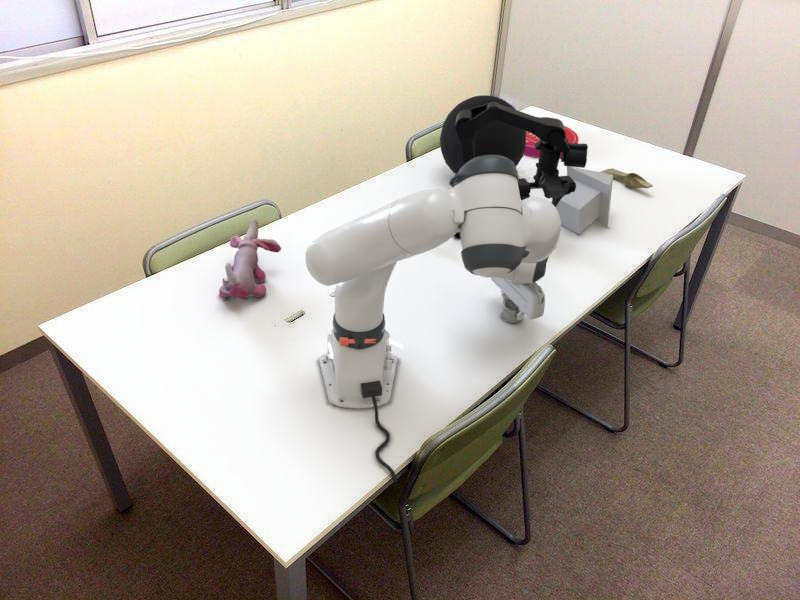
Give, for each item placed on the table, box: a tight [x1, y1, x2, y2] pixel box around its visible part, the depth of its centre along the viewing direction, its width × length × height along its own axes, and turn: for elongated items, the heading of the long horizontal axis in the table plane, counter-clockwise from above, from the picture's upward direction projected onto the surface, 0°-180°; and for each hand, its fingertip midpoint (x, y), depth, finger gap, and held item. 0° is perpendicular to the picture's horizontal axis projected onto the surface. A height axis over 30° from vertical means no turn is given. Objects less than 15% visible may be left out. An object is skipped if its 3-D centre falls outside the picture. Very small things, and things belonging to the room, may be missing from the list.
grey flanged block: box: [555, 166, 614, 235], centre depth 214 cm, size 17×24×18 cm
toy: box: [218, 218, 282, 301], centre depth 179 cm, size 19×24×15 cm
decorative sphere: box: [439, 94, 526, 175], centre depth 230 cm, size 30×30×30 cm
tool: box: [601, 167, 654, 189], centre depth 240 cm, size 22×6×5 cm, turn 26°
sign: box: [523, 125, 579, 159], centre depth 266 cm, size 30×4×30 cm
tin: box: [501, 299, 521, 324], centre depth 175 cm, size 5×5×4 cm
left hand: (512, 311), depth 175 cm, fingers closed on tin, 5 cm apart
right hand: (538, 210), depth 201 cm, fingers open, 9 cm apart
